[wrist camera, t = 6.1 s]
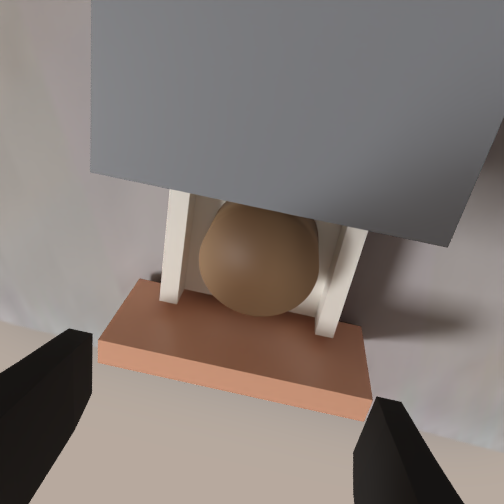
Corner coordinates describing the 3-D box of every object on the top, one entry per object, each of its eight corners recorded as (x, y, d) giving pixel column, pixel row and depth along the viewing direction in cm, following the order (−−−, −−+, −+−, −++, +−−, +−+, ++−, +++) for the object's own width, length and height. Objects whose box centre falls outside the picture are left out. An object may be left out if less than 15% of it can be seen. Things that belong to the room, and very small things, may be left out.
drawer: (424, 151, 18) (459, 192, 13) (354, 345, 22) (363, 421, 18) (151, 95, 18) (102, 118, 14) (138, 298, 23) (97, 362, 18)
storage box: (517, -117, 14) (640, -201, 9) (409, 183, 19) (447, 247, 13) (174, -182, 14) (93, -301, 9) (152, 130, 19) (90, 172, 14)
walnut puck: (330, 200, 18) (333, 224, 16) (304, 294, 20) (303, 327, 18) (219, 176, 18) (207, 197, 16) (205, 272, 21) (192, 302, 18)
